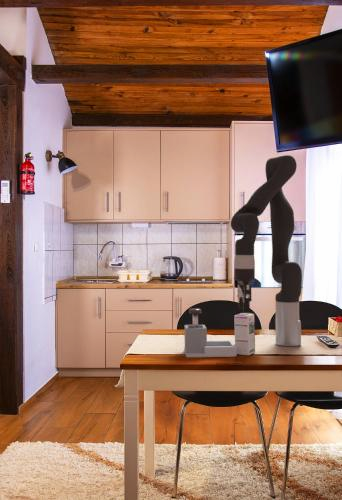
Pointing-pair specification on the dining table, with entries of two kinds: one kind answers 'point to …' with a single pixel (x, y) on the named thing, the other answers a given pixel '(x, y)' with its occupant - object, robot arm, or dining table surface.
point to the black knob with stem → (195, 316)
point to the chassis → (206, 344)
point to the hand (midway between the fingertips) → (244, 311)
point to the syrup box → (244, 333)
